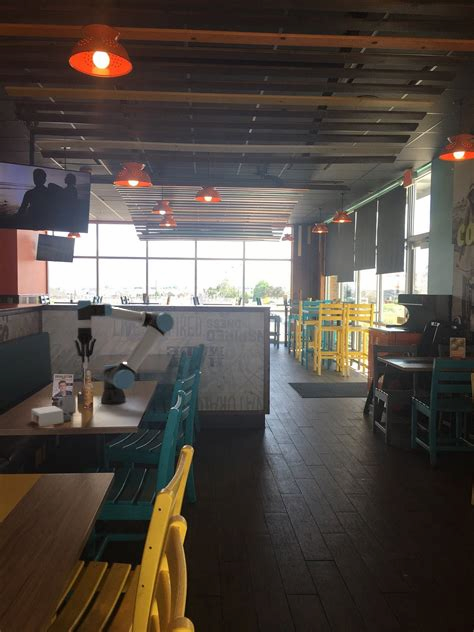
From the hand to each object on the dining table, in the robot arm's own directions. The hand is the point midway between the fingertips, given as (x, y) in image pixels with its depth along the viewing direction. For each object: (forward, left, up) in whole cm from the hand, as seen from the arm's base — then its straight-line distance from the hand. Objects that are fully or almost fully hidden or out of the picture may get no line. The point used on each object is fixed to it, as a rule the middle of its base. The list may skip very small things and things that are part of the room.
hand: (85, 368), depth 298 cm
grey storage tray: (+23, +12, -24) cm, 35 cm away
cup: (+10, -4, -25) cm, 27 cm away
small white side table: (+26, +12, -24) cm, 38 cm away
